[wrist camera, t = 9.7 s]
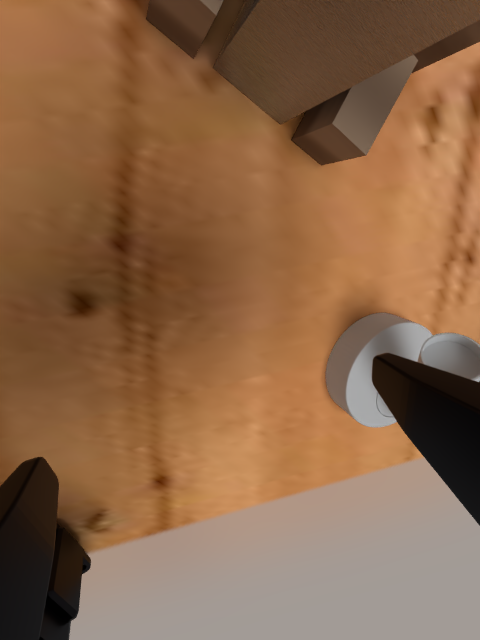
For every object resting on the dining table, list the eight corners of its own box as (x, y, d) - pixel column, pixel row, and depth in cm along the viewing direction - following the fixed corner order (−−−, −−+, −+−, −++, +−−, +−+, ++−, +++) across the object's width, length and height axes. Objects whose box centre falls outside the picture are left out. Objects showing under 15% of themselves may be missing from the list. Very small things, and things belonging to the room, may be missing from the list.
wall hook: (539, 310, 16) (547, 437, 21) (393, 276, 25) (420, 371, 29) (409, 410, 15) (446, 522, 20) (303, 338, 24) (345, 428, 28)
